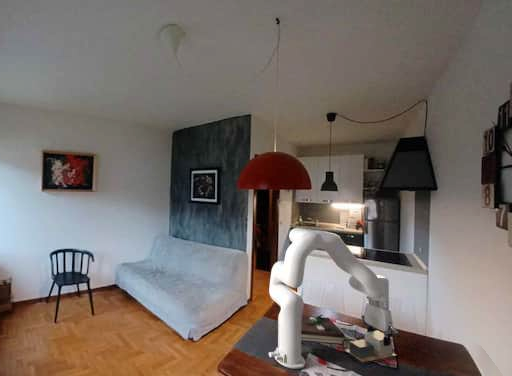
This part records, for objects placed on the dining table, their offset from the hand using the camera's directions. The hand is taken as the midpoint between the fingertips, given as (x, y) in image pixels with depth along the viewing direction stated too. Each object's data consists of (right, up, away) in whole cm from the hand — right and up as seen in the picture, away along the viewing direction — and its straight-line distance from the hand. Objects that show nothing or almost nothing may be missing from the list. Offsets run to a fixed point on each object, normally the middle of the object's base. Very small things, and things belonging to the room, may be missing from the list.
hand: (378, 340), depth 122 cm
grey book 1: (-10, -2, -2) cm, 10 cm away
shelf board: (-5, -6, -1) cm, 8 cm away
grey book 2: (-10, -5, -2) cm, 11 cm away
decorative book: (-24, -7, +14) cm, 29 cm away
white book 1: (0, 0, 0) cm, 0 cm away
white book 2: (0, -2, 0) cm, 2 cm away
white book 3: (0, -5, 0) cm, 5 cm away
